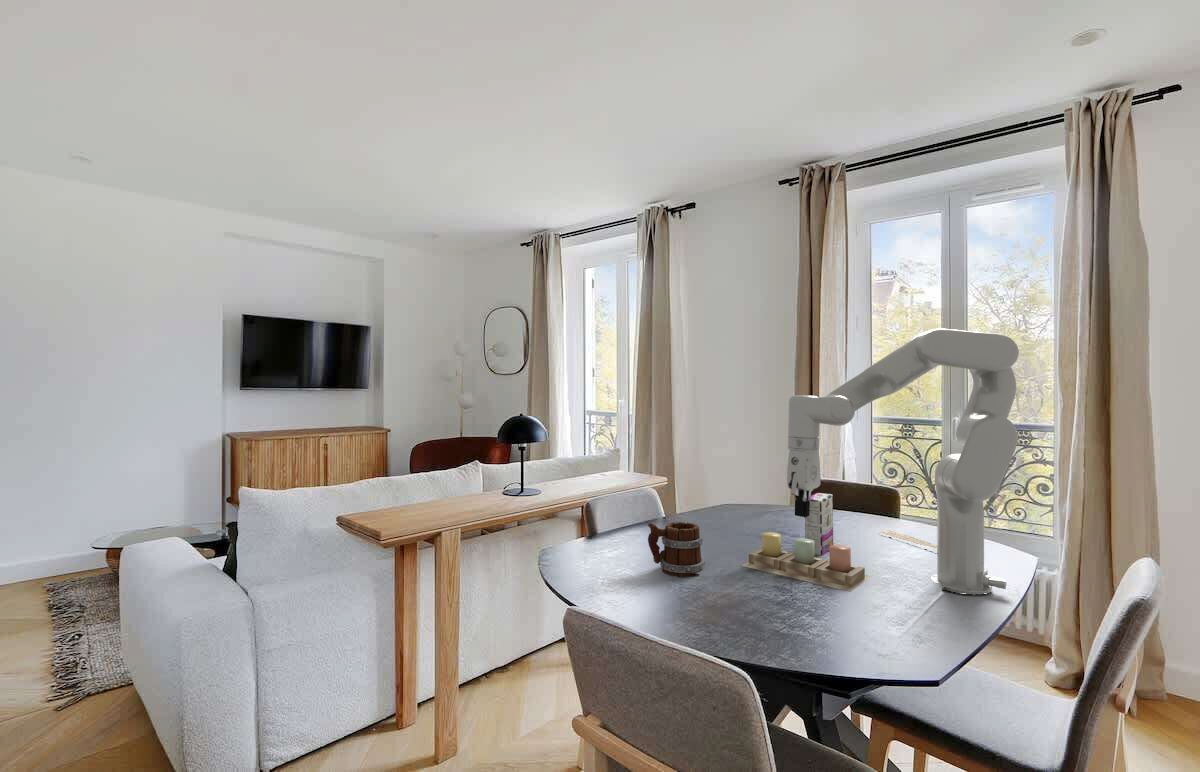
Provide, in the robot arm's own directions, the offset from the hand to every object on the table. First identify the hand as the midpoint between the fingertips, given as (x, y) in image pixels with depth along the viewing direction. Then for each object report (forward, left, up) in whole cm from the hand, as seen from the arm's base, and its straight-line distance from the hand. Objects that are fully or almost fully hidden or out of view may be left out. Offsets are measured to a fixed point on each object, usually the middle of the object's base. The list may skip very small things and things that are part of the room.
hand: (802, 515), depth 150 cm
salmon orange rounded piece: (-9, 0, -11) cm, 15 cm away
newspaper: (-13, -52, -16) cm, 56 cm away
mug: (+26, +19, -15) cm, 35 cm away
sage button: (0, 0, -11) cm, 11 cm away
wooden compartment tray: (0, 0, -15) cm, 15 cm away
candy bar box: (+5, -21, -15) cm, 27 cm away
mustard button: (+9, 0, -11) cm, 14 cm away
